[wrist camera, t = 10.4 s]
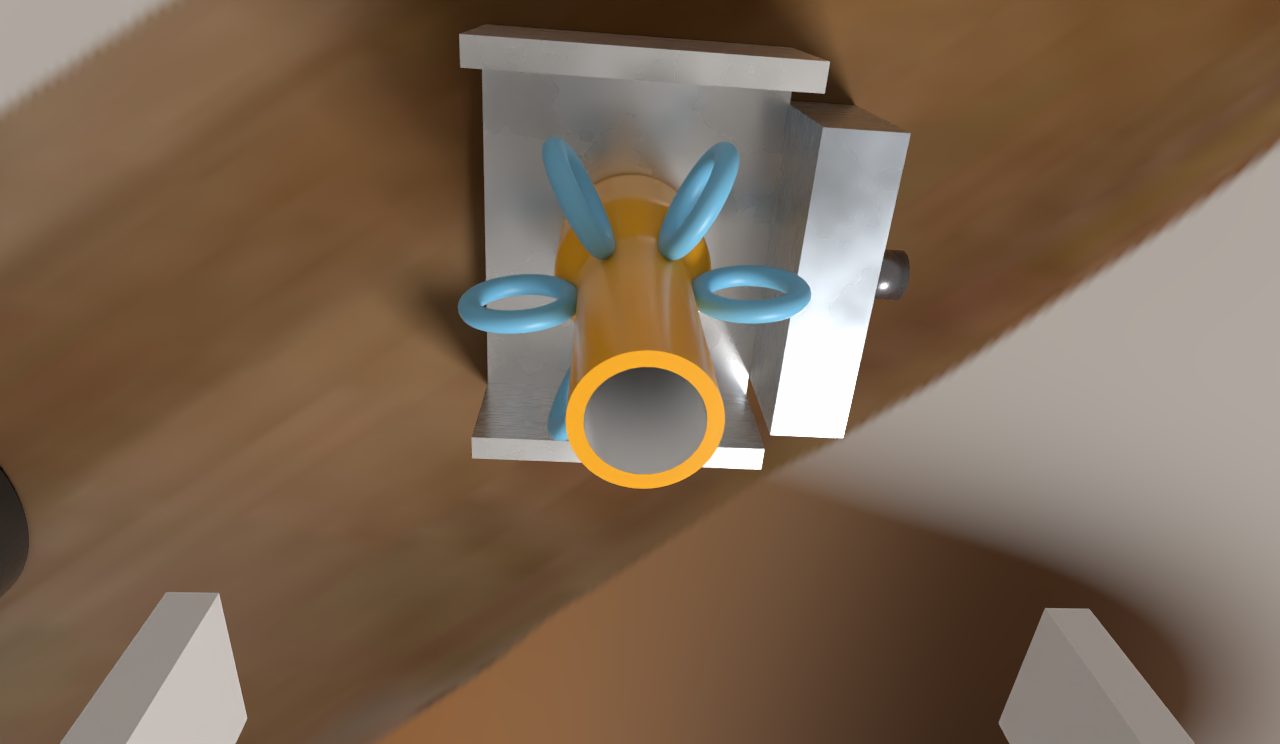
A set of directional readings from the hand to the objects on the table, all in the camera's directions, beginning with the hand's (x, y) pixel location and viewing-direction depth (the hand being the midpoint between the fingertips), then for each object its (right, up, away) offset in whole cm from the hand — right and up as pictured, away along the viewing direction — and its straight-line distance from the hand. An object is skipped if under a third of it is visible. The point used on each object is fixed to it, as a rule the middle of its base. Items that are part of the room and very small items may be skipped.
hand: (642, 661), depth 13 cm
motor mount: (+2, +11, +21) cm, 24 cm away
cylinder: (-1, +10, +20) cm, 23 cm away
